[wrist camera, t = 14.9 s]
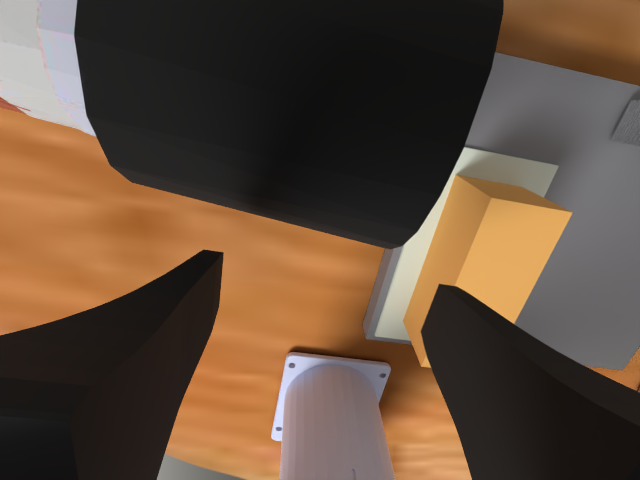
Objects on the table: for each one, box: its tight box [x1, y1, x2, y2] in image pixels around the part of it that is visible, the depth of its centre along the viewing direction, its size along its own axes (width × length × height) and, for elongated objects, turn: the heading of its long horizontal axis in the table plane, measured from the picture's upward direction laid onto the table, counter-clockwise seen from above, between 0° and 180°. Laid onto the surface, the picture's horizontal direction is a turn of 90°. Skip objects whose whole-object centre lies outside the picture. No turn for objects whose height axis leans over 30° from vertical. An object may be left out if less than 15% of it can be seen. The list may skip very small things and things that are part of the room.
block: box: [403, 175, 573, 368], centre depth 19 cm, size 10×4×4 cm, turn 169°
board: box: [362, 52, 640, 370], centre depth 22 cm, size 18×20×2 cm
